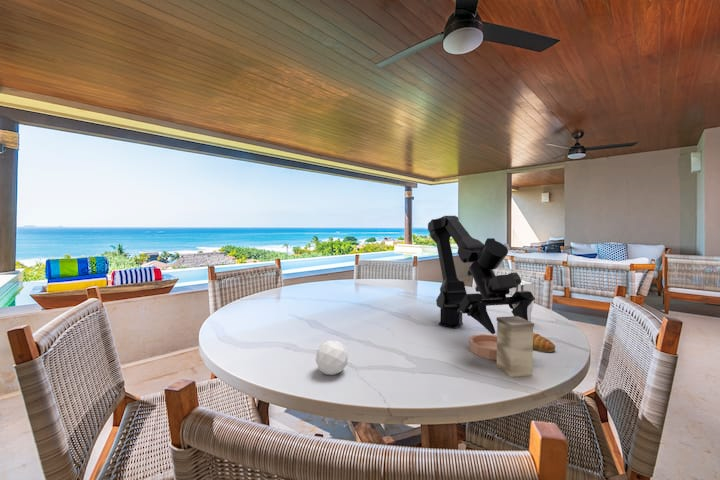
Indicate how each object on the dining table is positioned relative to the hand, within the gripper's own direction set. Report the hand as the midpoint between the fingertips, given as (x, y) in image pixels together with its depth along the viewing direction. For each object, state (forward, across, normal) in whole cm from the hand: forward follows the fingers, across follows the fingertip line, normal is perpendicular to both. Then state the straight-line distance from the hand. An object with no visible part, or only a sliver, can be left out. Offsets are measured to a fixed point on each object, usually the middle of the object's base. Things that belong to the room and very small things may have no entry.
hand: (511, 332), depth 75 cm
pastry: (-1, +16, +14) cm, 21 cm away
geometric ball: (+2, -44, +11) cm, 45 cm away
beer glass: (-13, +25, +26) cm, 38 cm away
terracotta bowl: (-1, +1, +13) cm, 13 cm away
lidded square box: (+7, 0, +6) cm, 9 cm away
